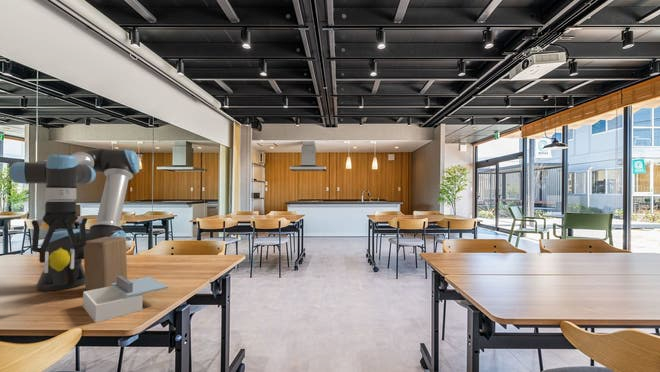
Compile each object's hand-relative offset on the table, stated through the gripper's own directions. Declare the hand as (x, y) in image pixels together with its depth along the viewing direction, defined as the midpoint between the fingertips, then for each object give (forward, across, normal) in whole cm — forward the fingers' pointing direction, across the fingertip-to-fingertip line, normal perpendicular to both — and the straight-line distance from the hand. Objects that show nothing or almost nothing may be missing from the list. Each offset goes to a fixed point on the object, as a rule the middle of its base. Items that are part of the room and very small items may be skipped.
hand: (59, 269), depth 93 cm
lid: (+8, +20, -13) cm, 25 cm away
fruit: (+1, 0, 0) cm, 1 cm away
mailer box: (+13, +12, -14) cm, 22 cm away
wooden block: (+13, +16, +12) cm, 24 cm away
